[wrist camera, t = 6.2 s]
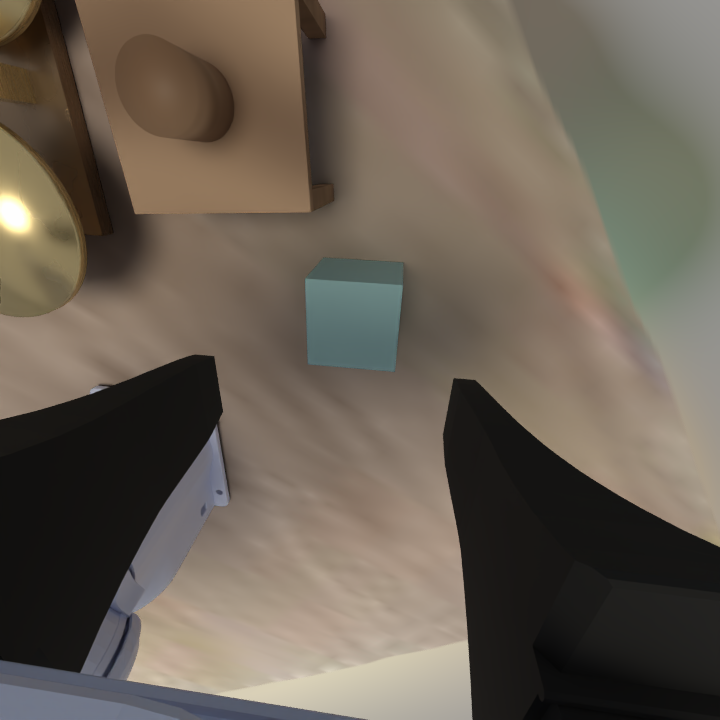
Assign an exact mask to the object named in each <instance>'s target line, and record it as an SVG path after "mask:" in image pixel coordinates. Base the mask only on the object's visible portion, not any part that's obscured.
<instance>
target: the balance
mask: <svg viewBox="0 0 720 720" xmlns="http://www.w3.org/2000/svg"><path fill="white" fill-rule="evenodd" d="M112 233H113V229H112V225H111V221H110V217H109V213H108V210H107V206H106V202H105V198H104V194H103V190H102V186H101V182H100V178H99V174H98V171H97V167H96V163H95V159H94V155H93V151H92V147H91V143H90V139H89V135H88V132H87V128H86V124H85V120H84V116H83V112H82V108H81V104H80V100H79V96H78V93H77V89H76V85H75V81H74V77H73V73H72V69H71V65H70V61H69V57H68V54H67V50H66V46H65V42H64V38H63V34H62V30H61V26H60V22H59V18H58V15H57V11H56V7H55V3H54V0H0V314H3V315H8V316H14V317H33V316H39V315H43V314H46V313H49V312H51V311H54V310H56V309H58V308H60V307H62V306H64V305H65V304H67V303H68V302H69V301H71V300H72V299H73V297H74V296H75V295H76V294H77V293H78V291H79V289H80V287H81V286H82V283H83V280H84V277H85V273H86V267H87V248H86V240H85V235H98V236H104V235H108V234H112Z"/></svg>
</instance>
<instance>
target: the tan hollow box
mask: <svg viewBox="0 0 720 720" xmlns="http://www.w3.org/2000/svg"><path fill="white" fill-rule="evenodd" d="M75 2H76V6H77V9H78V13H79V16H80V20H81V24H82V27H83V31H84V34H85V38H86V41H87V45H88V48H89V52H90V56H91V59H92V63H93V66H94V70H95V73H96V77H97V80H98V84H99V87H100V91H101V95H102V98H103V102H104V105H105V109H106V112H107V116H108V119H109V123H110V127H111V130H112V134H113V137H114V141H115V144H116V148H117V151H118V155H119V158H120V162H121V166H122V169H123V173H124V176H125V180H126V183H127V187H128V190H129V194H130V198H131V201H132V205H133V208H134V212H135V214H191V213H287V212H312V211H314V210H316V209H318V208H320V207H322V206H324V205H326V204H328V203H330V202H332V201H334V189H333V184H317V185H313V186H312V180H311V166H310V152H309V138H308V125H307V111H306V97H305V84H304V70H303V56H302V42H301V29H302V31H303V32H304V33H305V35H306V36H307V37H308V38H309V39H313V38H326V24H325V13H324V11H323V9H322V8H321V6H320V4H319V2H318V0H75ZM300 28H301V29H300Z"/></svg>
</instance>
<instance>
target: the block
mask: <svg viewBox="0 0 720 720" xmlns="http://www.w3.org/2000/svg"><path fill="white" fill-rule="evenodd" d="M402 290H403V262H387V261H371V260H355V259H339V258H323V259H322V260H321V261H320V262H319V263H318V264H317V266H316V267H315V268H314V269H313V270H312V271H311V272H310V274H309V275H308V276H307V277H306V278H305V293H306V323H307V354H308V364H310V365H322V366H333V367H345V368H357V369H368V370H380V371H392V372H395V365H396V354H397V343H398V333H399V322H400V311H401V301H402Z"/></svg>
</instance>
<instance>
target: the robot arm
mask: <svg viewBox="0 0 720 720" xmlns="http://www.w3.org/2000/svg"><path fill="white" fill-rule="evenodd" d="M222 412H223V409H222V403H221V396H220V390H219V384H218V377H217V371H216V365H215V359H214V356H205V355H192V356H188V357H185V358H182V359H179V360H176V361H174V362H171V363H169V364H166V365H164V366H161V367H159V368H156V369H154V370H151V371H149V372H146V373H144V374H141V375H139V376H137V377H134V378H132V379H129V380H127V381H124V382H121V383H119V384H116V385H113V386H111V387H106V386H95V387H94V388H92V389H91V390H90V394H89V395H86V396H83V397H80V398H77V399H74V400H71V401H68V402H65V403H62V404H58V405H55V406H52V407H48V408H45V409H41V410H38V411H34V412H30V413H26V414H22V415H18V416H14V417H10V418H6V419H2V420H0V720H366V719H359V718H354V717H348V716H341V715H335V714H328V713H322V712H317V711H311V710H304V709H298V708H292V707H286V706H280V705H273V704H267V703H261V702H255V701H249V700H243V699H237V698H230V697H224V696H218V695H212V694H206V693H200V692H193V691H187V690H181V689H175V688H169V687H163V686H156V685H150V684H144V683H138V682H132V681H126V680H127V678H128V676H129V674H130V671H131V669H132V667H133V664H134V662H135V659H136V656H137V652H138V647H139V637H140V632H141V620H140V618H139V617H138V615H136V614H135V613H133V612H135V611H137V610H139V609H141V608H142V607H144V606H145V605H147V604H148V603H150V602H151V601H152V600H154V599H155V598H156V597H157V596H158V595H159V594H160V593H161V592H162V591H163V590H164V589H165V588H166V587H167V586H168V585H169V584H170V582H171V581H172V580H173V578H174V576H175V575H176V573H177V571H178V569H179V568H180V566H181V564H182V562H183V561H184V559H185V557H186V555H187V553H188V552H189V550H190V548H191V546H192V544H193V543H194V541H195V539H196V537H197V535H198V534H199V532H200V530H201V528H202V527H203V525H204V523H205V521H206V519H207V518H208V516H209V514H210V512H211V510H212V509H213V507H214V506H227V505H228V503H229V501H230V498H229V492H228V486H227V480H226V474H225V469H224V463H223V457H222V451H221V445H220V439H219V433H218V428H217V423H218V421H219V419H220V417H221V415H222ZM443 441H444V458H445V467H446V473H447V478H448V483H449V489H450V494H451V499H452V504H453V509H454V514H455V519H456V525H457V530H458V535H459V542H460V548H461V558H462V569H463V580H464V591H465V604H466V617H467V630H468V644H469V661H470V678H471V698H472V717H473V720H720V547H718V546H716V545H714V544H712V543H710V542H707V541H705V540H703V539H701V538H699V537H697V536H694V535H692V534H690V533H688V532H686V531H684V530H682V529H680V528H678V527H676V526H674V525H672V524H670V523H668V522H666V521H664V520H662V519H661V518H659V517H657V516H655V515H653V514H651V513H649V512H647V511H645V510H643V509H642V508H640V507H638V506H636V505H635V504H633V503H631V502H629V501H627V500H626V499H624V498H622V497H620V496H619V495H617V494H615V493H614V492H612V491H611V490H609V489H607V488H606V487H604V486H602V485H601V484H599V483H598V482H596V481H594V480H593V479H591V478H590V477H588V476H587V475H585V474H584V473H582V472H581V471H579V470H578V469H576V468H575V467H573V466H572V465H571V464H569V463H568V462H566V461H565V460H564V459H562V458H561V457H560V456H558V455H557V454H555V453H554V452H553V451H551V450H550V449H549V448H548V447H546V446H545V445H544V444H543V443H541V442H540V441H539V440H538V439H537V438H535V437H534V436H533V435H532V434H531V433H530V432H528V431H527V430H526V429H525V428H524V427H523V426H522V425H520V424H519V423H518V422H517V421H516V420H515V419H514V418H513V417H512V416H511V415H510V414H509V413H508V412H507V411H506V410H505V409H504V408H503V407H502V406H501V405H500V404H499V403H498V402H497V401H496V400H495V399H494V398H493V397H492V396H491V395H490V394H489V393H488V392H487V391H486V390H485V389H484V388H483V387H482V386H481V385H480V384H479V383H478V382H477V381H476V380H467V379H457V378H454V380H453V385H452V390H451V395H450V401H449V406H448V411H447V417H446V422H445V427H444V432H443Z"/></svg>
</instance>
